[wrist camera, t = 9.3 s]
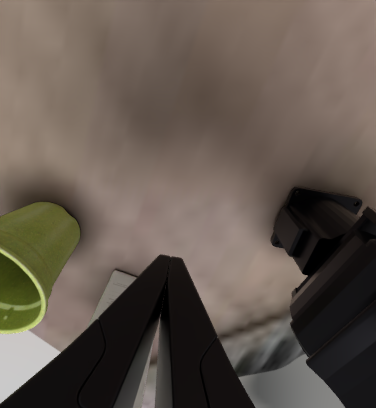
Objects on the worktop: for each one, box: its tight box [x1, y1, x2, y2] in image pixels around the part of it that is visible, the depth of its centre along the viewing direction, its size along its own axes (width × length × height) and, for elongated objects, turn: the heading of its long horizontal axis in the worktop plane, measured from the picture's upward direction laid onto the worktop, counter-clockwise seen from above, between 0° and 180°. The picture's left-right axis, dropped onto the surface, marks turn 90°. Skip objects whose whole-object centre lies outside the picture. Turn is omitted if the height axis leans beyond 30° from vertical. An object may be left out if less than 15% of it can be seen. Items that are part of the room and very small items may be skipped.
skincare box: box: [87, 270, 154, 408], centre depth 21 cm, size 8×7×16 cm
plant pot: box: [0, 202, 80, 334], centre depth 20 cm, size 9×9×9 cm
